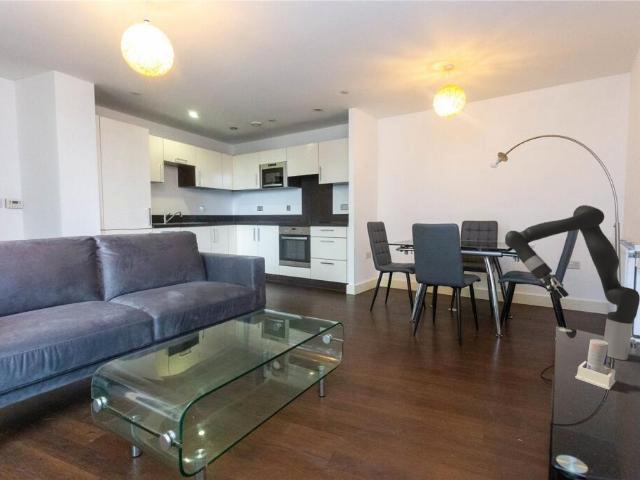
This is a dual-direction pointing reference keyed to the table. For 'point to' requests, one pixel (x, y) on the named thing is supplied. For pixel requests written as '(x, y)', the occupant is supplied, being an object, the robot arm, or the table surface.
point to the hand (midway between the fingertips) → (563, 297)
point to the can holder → (596, 376)
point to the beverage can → (597, 356)
